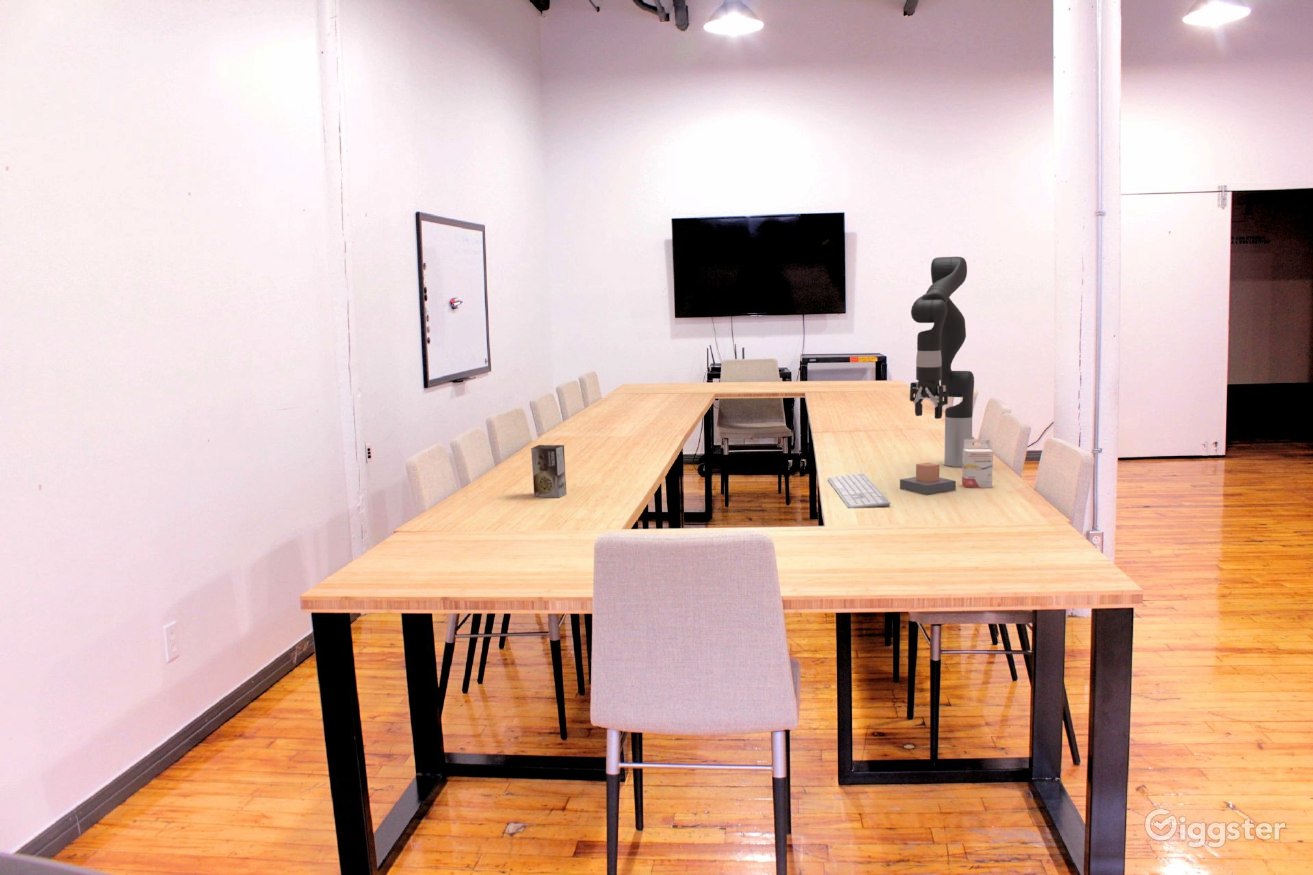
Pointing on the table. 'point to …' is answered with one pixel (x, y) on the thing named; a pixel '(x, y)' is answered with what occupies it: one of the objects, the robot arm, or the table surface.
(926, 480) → the terracotta cube
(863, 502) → the keyboard
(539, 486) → the coffee box
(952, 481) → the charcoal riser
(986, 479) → the ink cartridge box
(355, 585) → the table surface
